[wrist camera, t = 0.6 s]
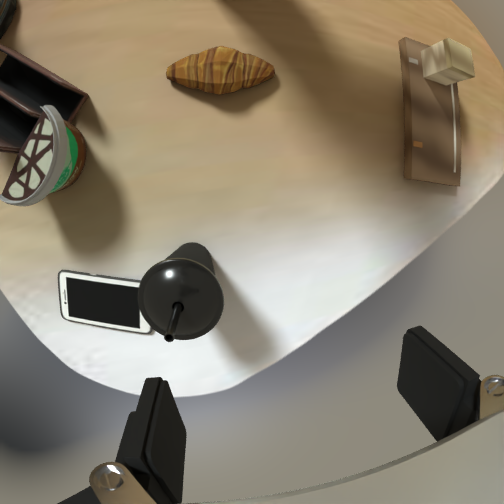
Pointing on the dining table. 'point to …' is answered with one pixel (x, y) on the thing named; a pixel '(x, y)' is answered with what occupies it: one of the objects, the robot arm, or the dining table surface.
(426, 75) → the block
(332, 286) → the dining table surface
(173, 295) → the drinking cup
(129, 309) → the cell phone
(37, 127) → the food container
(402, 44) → the walnut board
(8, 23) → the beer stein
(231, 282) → the dining table surface
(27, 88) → the letter holder
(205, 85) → the croissant
